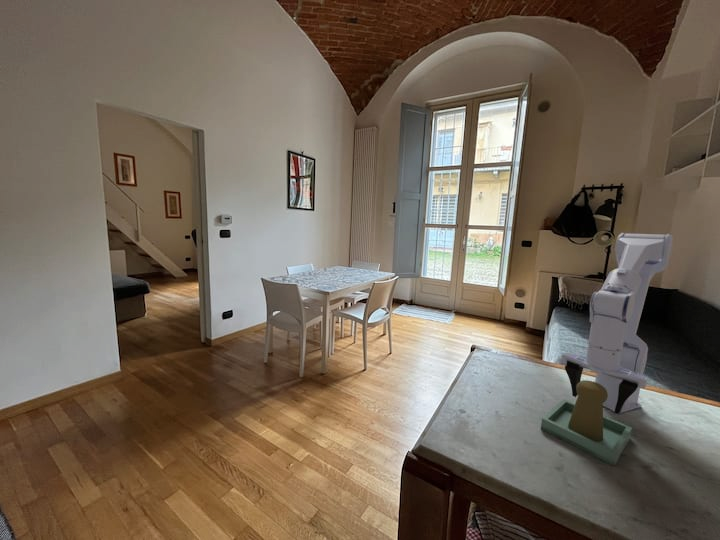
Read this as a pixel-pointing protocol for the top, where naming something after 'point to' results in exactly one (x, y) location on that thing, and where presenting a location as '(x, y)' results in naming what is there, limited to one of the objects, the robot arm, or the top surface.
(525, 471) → the top surface
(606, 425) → the tray
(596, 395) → the cork
